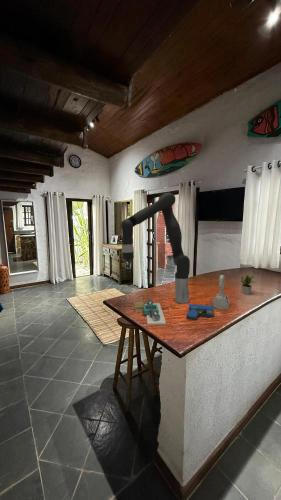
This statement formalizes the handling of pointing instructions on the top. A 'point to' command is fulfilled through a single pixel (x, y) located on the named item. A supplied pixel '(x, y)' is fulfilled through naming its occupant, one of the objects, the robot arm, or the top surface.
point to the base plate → (161, 321)
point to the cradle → (148, 307)
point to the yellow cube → (139, 306)
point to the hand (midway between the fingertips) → (128, 275)
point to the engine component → (221, 296)
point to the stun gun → (199, 311)
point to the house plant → (246, 284)
